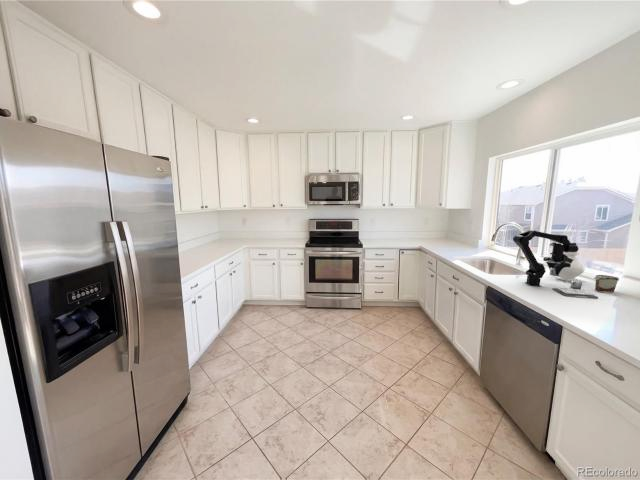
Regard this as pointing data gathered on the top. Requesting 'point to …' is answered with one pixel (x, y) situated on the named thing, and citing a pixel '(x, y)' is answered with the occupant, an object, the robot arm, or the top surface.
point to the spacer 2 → (576, 284)
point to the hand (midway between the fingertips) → (554, 273)
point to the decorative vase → (571, 268)
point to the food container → (605, 283)
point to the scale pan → (575, 291)
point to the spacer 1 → (553, 272)
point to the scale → (575, 294)
